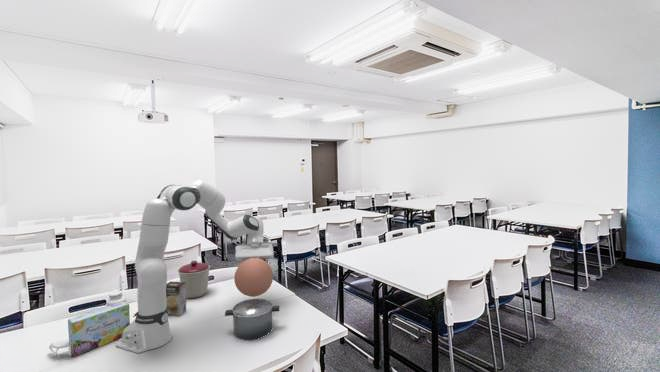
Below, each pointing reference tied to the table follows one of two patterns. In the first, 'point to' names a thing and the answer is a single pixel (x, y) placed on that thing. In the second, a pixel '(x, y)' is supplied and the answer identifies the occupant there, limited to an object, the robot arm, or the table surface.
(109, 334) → the snack box
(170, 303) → the coffee box
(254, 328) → the cooker pot
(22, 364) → the table surface
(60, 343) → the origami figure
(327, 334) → the table surface
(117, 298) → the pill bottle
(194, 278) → the canister
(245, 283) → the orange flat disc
